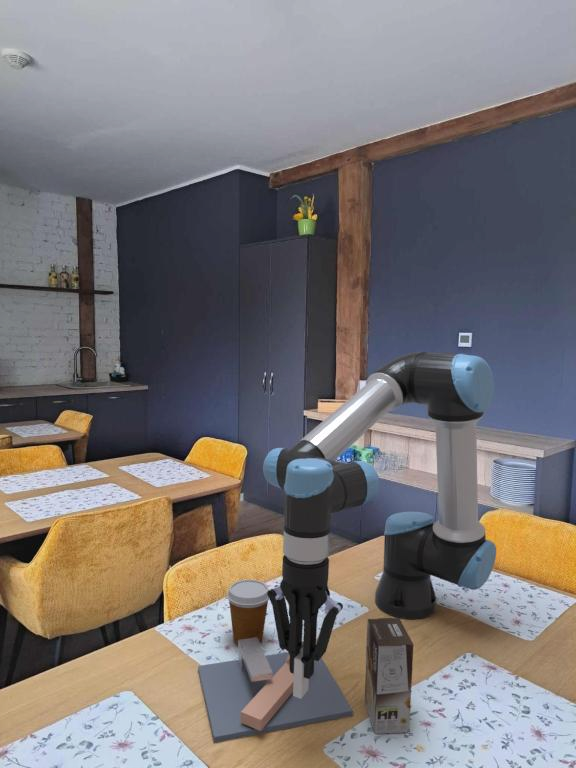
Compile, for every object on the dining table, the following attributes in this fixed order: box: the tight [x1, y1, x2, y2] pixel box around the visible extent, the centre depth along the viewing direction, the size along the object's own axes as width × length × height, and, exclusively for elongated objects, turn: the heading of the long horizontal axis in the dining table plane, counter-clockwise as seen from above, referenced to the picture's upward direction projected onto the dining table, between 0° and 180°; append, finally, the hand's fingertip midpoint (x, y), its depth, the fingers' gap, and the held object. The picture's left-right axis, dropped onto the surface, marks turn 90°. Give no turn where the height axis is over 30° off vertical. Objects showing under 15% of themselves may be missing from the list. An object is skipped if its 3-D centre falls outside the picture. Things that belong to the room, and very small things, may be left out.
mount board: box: [197, 651, 354, 744], centre depth 105 cm, size 25×20×1 cm
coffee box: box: [364, 617, 414, 735], centre depth 99 cm, size 9×6×16 cm
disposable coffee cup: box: [226, 579, 270, 647], centre depth 121 cm, size 10×10×12 cm
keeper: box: [237, 637, 273, 682], centre depth 107 cm, size 4×12×6 cm, turn 17°
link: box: [241, 641, 303, 731], centre depth 103 cm, size 21×5×5 cm, turn 152°
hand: (300, 692), depth 92 cm, fingers closed
